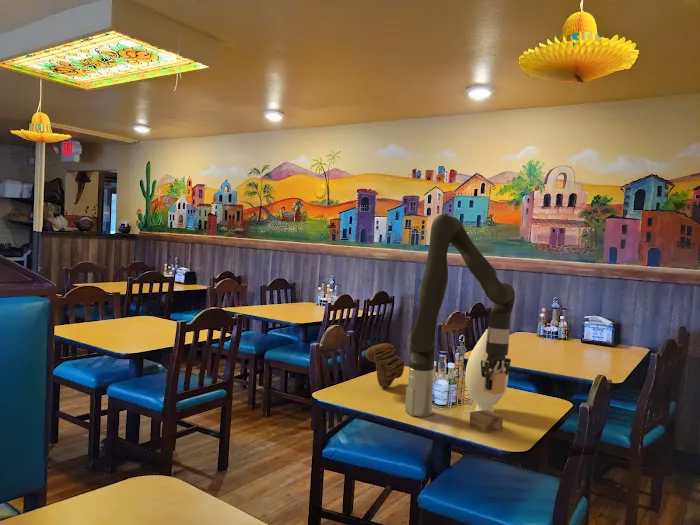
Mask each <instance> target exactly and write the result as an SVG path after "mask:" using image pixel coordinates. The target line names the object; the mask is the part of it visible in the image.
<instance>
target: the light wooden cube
mask: <svg viewBox="0 0 700 525" xmlns="http://www.w3.org/2000/svg"><path fill="white" fill-rule="evenodd" d="M485 374H486V372H485ZM490 374H491V372H489V375H490ZM505 375H506V373H503V372H499V371H496V373H495V374H493V378H492V380H493V381H492V390H487V389H486V387H485V384H486V378H485V377H484V389H483V391H485V392H488V393H491V394H494V395H497V394H502V393H504V387H505ZM504 394H505V393H504Z"/></svg>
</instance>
